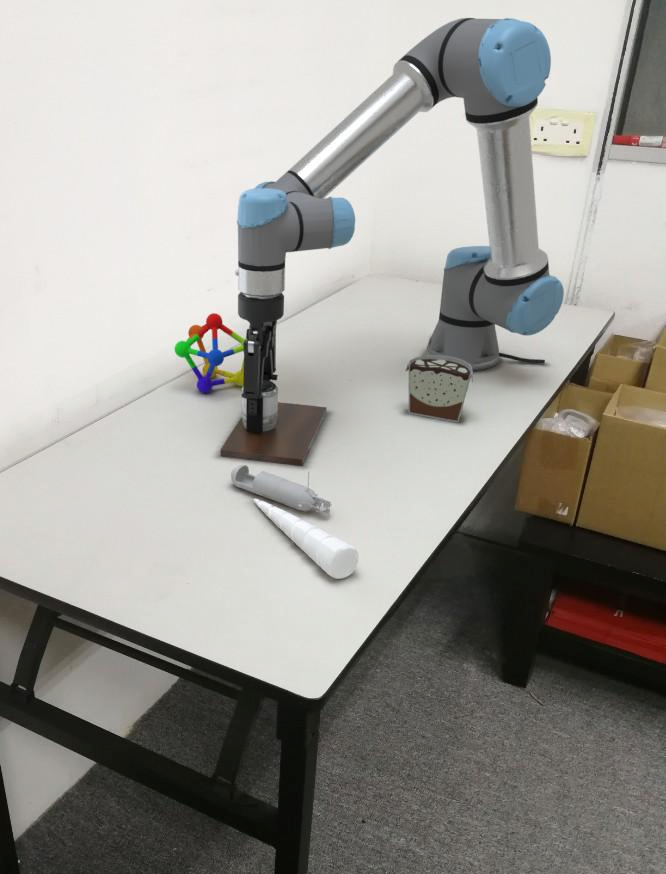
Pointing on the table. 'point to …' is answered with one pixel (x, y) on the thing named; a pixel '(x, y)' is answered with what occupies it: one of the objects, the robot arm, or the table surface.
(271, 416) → the camera lens
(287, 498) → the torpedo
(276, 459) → the walnut board
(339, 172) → the robot arm
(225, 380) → the educational toy
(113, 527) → the table surface
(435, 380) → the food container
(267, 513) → the unicorn horn
